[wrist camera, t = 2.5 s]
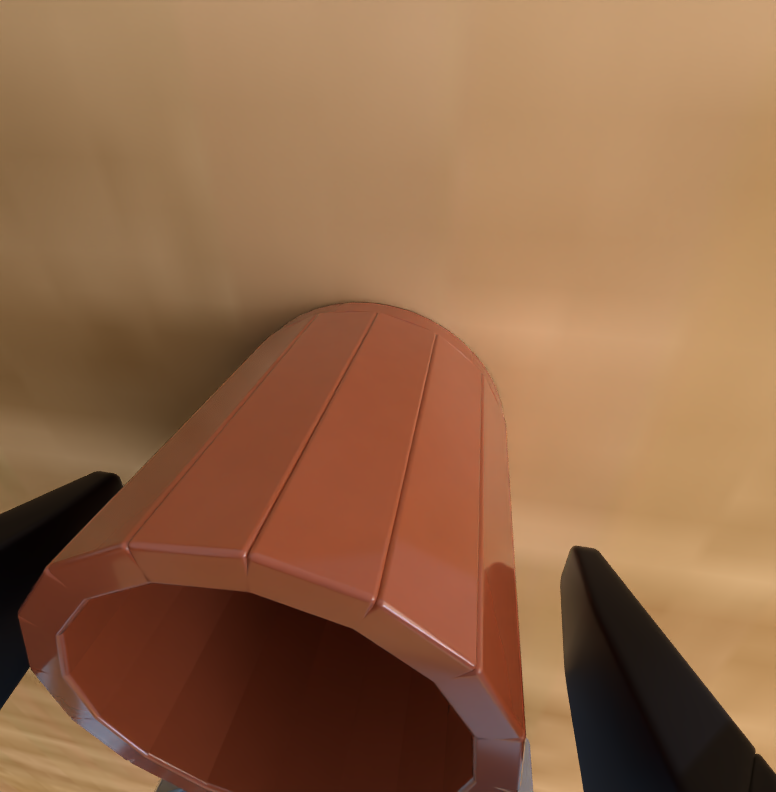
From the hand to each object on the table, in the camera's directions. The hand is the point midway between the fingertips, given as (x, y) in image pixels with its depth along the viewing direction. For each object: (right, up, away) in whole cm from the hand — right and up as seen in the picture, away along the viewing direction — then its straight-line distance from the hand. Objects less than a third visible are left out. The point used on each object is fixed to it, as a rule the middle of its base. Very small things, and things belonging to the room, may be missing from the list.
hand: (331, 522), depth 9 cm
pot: (+1, +2, +3) cm, 3 cm away
